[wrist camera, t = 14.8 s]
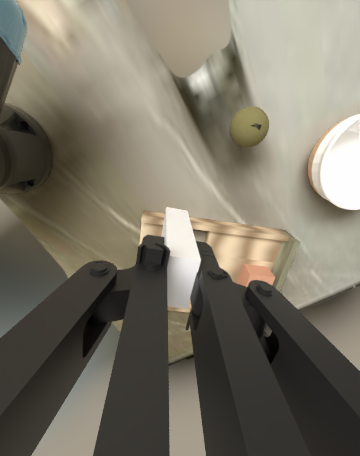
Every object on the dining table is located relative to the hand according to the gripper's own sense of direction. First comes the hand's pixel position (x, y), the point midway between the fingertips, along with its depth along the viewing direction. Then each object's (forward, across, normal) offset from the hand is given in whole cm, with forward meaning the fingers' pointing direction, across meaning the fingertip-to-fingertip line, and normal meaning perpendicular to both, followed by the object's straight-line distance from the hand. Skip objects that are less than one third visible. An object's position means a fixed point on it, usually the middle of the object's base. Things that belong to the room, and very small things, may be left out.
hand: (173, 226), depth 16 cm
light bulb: (+29, +11, +9) cm, 32 cm away
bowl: (+28, +32, +8) cm, 43 cm away
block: (+26, +23, -20) cm, 39 cm away
